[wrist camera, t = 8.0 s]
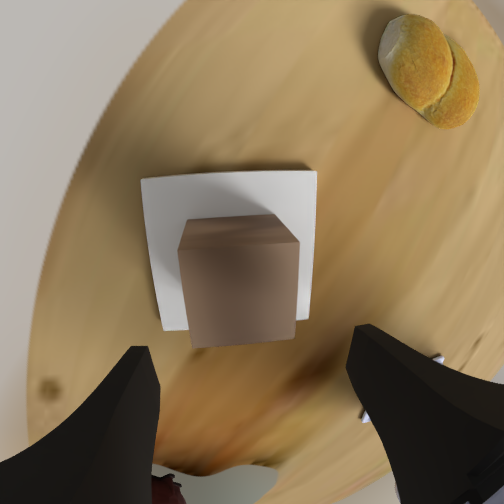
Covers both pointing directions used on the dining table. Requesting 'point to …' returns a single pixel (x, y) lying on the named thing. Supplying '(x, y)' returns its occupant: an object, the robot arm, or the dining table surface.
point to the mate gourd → (166, 490)
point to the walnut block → (239, 280)
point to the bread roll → (429, 71)
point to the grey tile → (224, 205)
